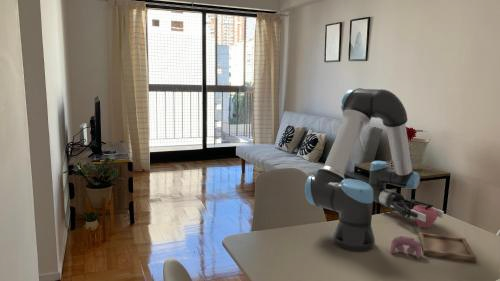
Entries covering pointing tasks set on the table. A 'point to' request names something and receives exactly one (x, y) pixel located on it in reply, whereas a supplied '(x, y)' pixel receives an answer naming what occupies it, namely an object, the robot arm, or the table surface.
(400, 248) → the video game controller
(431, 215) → the apple
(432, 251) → the walnut tray
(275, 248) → the table surface
